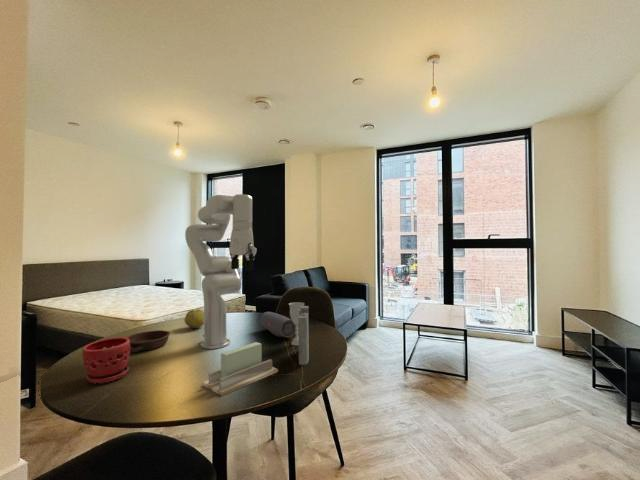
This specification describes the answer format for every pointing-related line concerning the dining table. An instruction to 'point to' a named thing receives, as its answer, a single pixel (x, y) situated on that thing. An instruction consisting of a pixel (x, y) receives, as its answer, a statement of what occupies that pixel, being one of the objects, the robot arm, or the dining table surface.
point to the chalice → (295, 318)
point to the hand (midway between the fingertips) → (242, 269)
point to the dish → (148, 340)
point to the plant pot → (106, 359)
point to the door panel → (240, 358)
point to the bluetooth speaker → (278, 324)
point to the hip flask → (303, 335)
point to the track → (238, 378)
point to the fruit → (195, 318)
